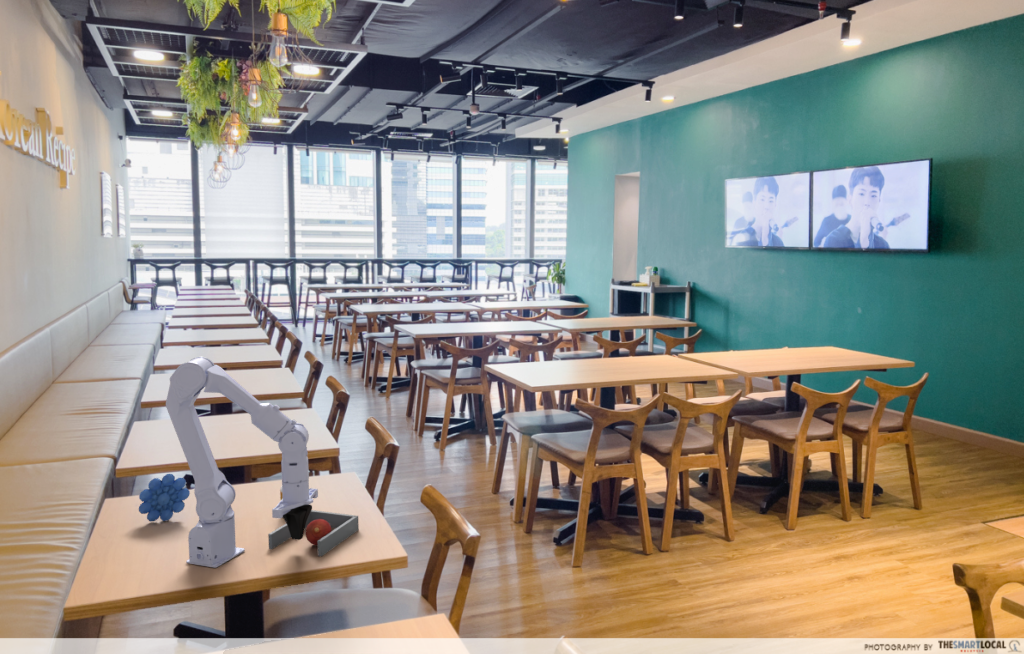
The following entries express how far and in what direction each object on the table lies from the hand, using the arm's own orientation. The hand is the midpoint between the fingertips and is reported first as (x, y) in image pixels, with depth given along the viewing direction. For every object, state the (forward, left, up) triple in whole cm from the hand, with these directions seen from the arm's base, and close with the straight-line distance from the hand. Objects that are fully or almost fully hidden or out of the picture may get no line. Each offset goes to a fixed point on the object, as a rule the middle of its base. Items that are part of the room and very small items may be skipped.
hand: (297, 538), depth 159 cm
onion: (+1, -5, +2) cm, 5 cm away
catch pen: (+7, 0, -3) cm, 7 cm away
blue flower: (+6, +43, -3) cm, 44 cm away
